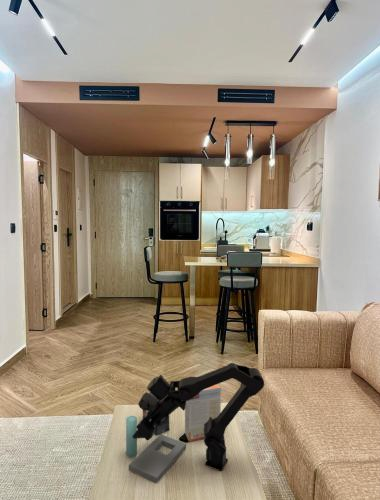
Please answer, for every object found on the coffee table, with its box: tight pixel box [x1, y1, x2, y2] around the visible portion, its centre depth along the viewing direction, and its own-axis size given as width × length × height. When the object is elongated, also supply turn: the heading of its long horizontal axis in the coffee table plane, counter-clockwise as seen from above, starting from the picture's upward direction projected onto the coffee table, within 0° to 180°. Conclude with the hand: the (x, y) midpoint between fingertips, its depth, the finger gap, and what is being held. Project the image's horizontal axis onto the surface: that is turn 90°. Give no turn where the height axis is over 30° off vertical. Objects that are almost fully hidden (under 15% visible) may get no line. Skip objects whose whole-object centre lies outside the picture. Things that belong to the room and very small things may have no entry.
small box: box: [142, 391, 170, 436], centre depth 144 cm, size 13×7×12 cm, turn 33°
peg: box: [125, 415, 138, 459], centre depth 125 cm, size 4×4×14 cm
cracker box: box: [184, 384, 222, 442], centre depth 137 cm, size 14×6×21 cm, turn 108°
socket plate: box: [128, 433, 187, 484], centre depth 123 cm, size 12×20×2 cm, turn 151°
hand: (138, 429), depth 124 cm, fingers open, 9 cm apart
